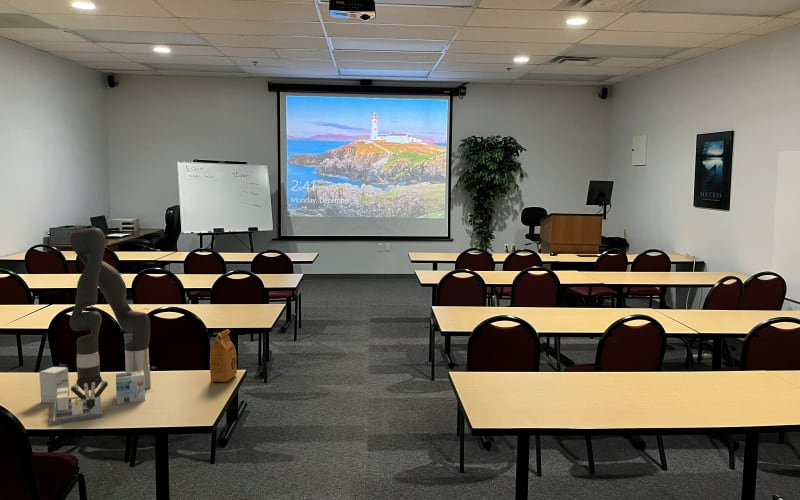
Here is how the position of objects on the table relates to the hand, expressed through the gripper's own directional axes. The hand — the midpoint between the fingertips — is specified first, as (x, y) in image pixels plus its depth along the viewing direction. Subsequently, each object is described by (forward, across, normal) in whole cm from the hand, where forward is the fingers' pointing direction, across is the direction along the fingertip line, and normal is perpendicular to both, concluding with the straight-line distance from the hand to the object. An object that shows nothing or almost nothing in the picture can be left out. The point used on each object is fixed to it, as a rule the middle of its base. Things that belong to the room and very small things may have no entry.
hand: (90, 408), depth 224 cm
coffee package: (+3, -54, -19) cm, 57 cm away
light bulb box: (+3, -15, -11) cm, 19 cm away
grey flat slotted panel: (+3, +5, -8) cm, 10 cm away
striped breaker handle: (+1, +4, 0) cm, 5 cm away
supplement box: (+3, +12, -25) cm, 28 cm away
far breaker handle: (+1, +9, -15) cm, 18 cm away
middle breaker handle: (+1, +9, -8) cm, 12 cm away
